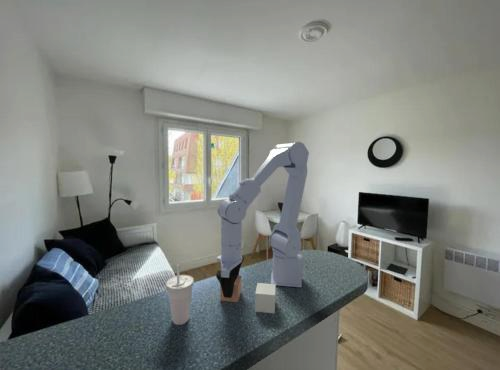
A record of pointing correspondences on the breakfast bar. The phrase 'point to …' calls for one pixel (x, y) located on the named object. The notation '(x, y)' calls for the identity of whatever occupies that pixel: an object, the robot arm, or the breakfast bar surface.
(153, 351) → the breakfast bar surface
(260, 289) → the offwhite cube
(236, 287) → the terracotta cube
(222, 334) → the breakfast bar surface
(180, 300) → the white cup with straw
